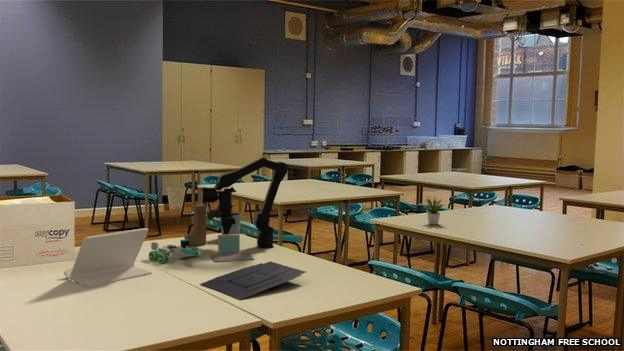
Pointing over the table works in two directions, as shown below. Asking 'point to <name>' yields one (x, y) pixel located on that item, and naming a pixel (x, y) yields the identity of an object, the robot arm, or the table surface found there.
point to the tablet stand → (108, 258)
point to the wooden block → (198, 227)
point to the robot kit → (172, 251)
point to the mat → (232, 257)
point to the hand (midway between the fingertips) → (225, 237)
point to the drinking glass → (235, 227)
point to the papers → (253, 279)
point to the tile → (228, 244)
